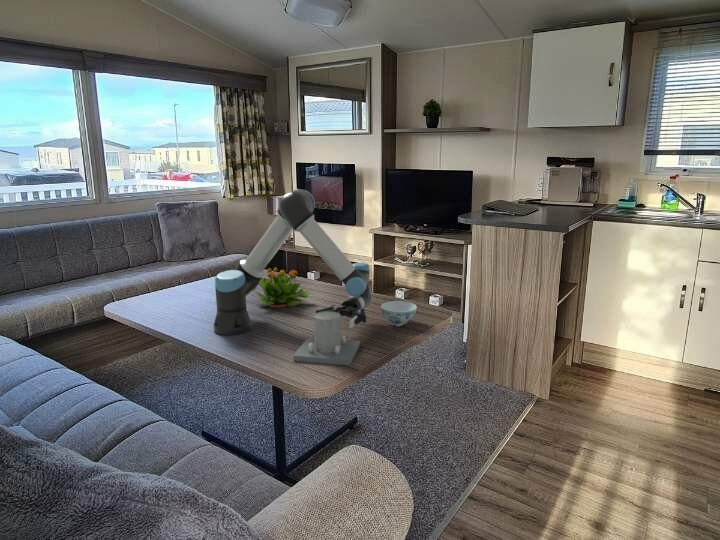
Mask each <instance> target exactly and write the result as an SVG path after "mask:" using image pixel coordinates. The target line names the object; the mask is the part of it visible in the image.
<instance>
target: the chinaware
mask: <svg viewBox="0 0 720 540" xmlns="http://www.w3.org/2000/svg"><path fill="white" fill-rule="evenodd" d="M380 308H381V312H382V315H383V317H384V318H385V320H387V321H388V322H390V324H391V323H392V324H397V325H398V324H405V323H406V324H408V323H409V322H410V321H411V320H413V318H414V316H415V315H416V311H417V308H418V307H417V305H416V304H414V303H412V302H409V301H404V300H403V301H401V300H400V301H399V300H395V301H394V300H393V301H392V300H391V301H388V302H384V303H382V304H381V305H380Z"/></svg>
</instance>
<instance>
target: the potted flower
mask: <svg viewBox="0 0 720 540" xmlns="http://www.w3.org/2000/svg"><path fill="white" fill-rule="evenodd" d="M278 271H279V272H278ZM266 273H267V277H268V278H266V277H262V279H261V280H260V281H259V284H258V285H259V287H261V288H262V291H263V294H262V293H260V292H258V291H256V289H255V290H254V291H253V292H255V294H256V295H258V296H259V297H260V299H259V303H260V304H267V305H269V307H270V308H274V307H275V308H277V309H278V308H280V307H281V308H286V307H296V306H298V305H300V304H301V303H304V302H303V299H300V298H306V299H308V297H309V295H310V293H311V291H309V290H307V289H305V290H304V289H303V288H300V286H301V282H298V283H297V281H295V279H297V278H296V277H297V275H298V271H297V270H294V269H292V270H290V271H289V272H288V274H287V273H286V270H284V269H281V270H278V268H277V267H274V268H273V270H272V268H267V270H266ZM292 281H293V283H292ZM299 288H300V289H299Z"/></svg>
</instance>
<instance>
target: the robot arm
mask: <svg viewBox="0 0 720 540" xmlns="http://www.w3.org/2000/svg"><path fill="white" fill-rule="evenodd" d="M315 207H316V201H315V198H314V196H313V195H312V194H311V192H309V191H308V190H306V189H301V188H300V189H299V188H297V189H293V190H292V191H289V192H288V191H287V192H286V193H285V194H283V195H282V197H281V198H280V200H279V205H278V208H277V210H276V215H277V216H276V217H275V219H273V222H272V223H271V224H270V225H269V227H268V229H267V230H266V231H265V233H264V234H263V236H262V237H261V238H260V239H259V241H258V242H257V244H256V245H255V246H254V248H253V249H252V251H251V252H250V253H249V255H248V256H247V257H246V258H245V259H240V261H239V262H238V263H237V265H236V266H235V268H234V269H231V270H225V271H221V272H219V273H217V275H216V276H215V277H214V290H215V302H216V315H215V318H214V321H213V322H214V323H213V332H214V333H216V334H219V335H224V336H231V335H232V336H233V335H241V334H243V333H246V332H249V331H250V330H252V328H253V327H252V320H251V318H250V314H249V313H248V310H247V296H248V295H250V294H251V293H252V292H254V290H255V291H256V289H257V287H258V285H259V281H260V280H261V279H262V278H264V270H265V269H266V268H267V266H268V264H269V263H270V262H271V260H272V259H273V258H274V257H275V255H276V254H277V252H279V250H280V248H281V247H282V246H283V244H284V242H286V241H287V239H288V237H289V236H290V235H291V234H292V232H293V231H294V232H299V234H300V235H301V236H302V237H303V238H304V239H305V240H306V242H308V244H309V245H310V246H311V248H313V249H314V251H315V252H316V253H317V255H318V256H319V257H320V258H321V259H322V260H323V261H324V263H325V264H327V266H328V267H329V269H331V270H332V272H333V273H334V274H335V275H336V277H338V279H339V280H340V281H341V282H342V284H343V285H344V286H345V291H346V292H347V294H348V295H350V296H349V297H347V299H345V300H344V301H342V303H341V305H340V306H336V305H335V304H334V305H331V306H328V307H327V306H326V307H324V308H321V309H316V310H315V314H316V313H318V312H323V311H333V312H337V313H340V315H341V317H346V318H351V319H350V320H349V323H348V325H349V329H353V327H355V326H356V325H358V324H360V323H363V324H365V323H367V315H366V312H365V309H366V308H367V307H368V306H369V305H370V304H371V302H372V300H373V295H372V292H371V291H370V265H369V264H368V263H366V262H355V263H352V262H351V260H349V258H347V257H346V255H345V254H344V253H343V251H341V249H340V248H339V246H338V245H337V244H336V243H335V242H334V240H332V238H331V237H330V236H329V235H328V234H327V232H326V231H325V230H324V229H323V227H321V226H320V223H318V222H317V220H315V214H314V210H315Z"/></svg>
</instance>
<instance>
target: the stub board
mask: <svg viewBox="0 0 720 540" xmlns="http://www.w3.org/2000/svg"><path fill="white" fill-rule="evenodd" d="M359 346H360V347H361V341H360V340H353V339H347V336H346V335H341V349H340V346H339V345H336V346H335V352H333V353H321V352H318V351H316V350H315V337H307V338H306V340H304V342H303V343H302V344H301V345H300V347H299V348H297V351H295V353H294V354H293V355H292V358H293V359H292V361H294V362H301V363H302V362H303V363H305V362H306V363H314V364H326V365H338V366H339V365H340V366H350V365H351V363H352V361H353V360H354V357H356V354H357V352H358V351H357V350H359V349H358V348H360V347H359Z"/></svg>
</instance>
